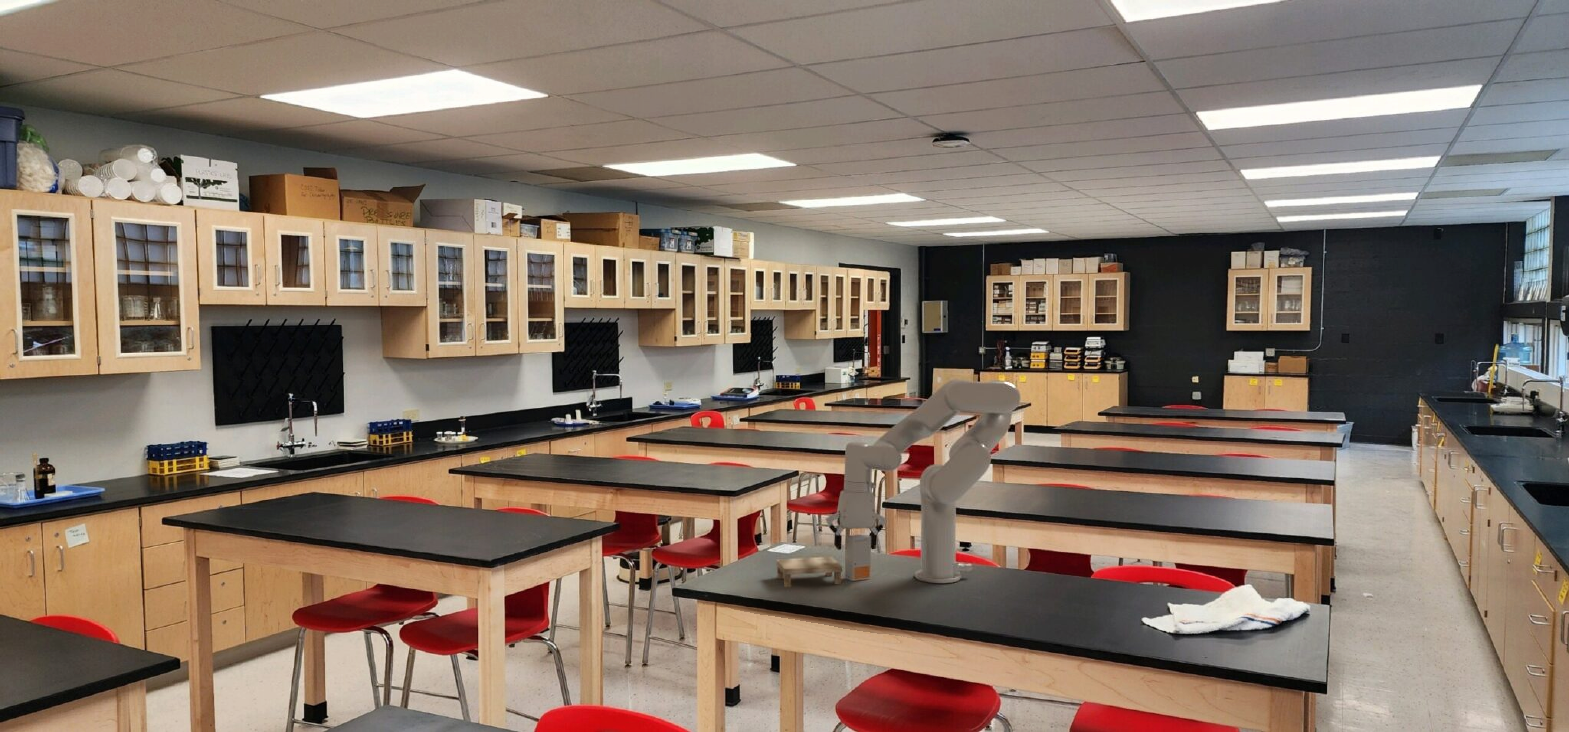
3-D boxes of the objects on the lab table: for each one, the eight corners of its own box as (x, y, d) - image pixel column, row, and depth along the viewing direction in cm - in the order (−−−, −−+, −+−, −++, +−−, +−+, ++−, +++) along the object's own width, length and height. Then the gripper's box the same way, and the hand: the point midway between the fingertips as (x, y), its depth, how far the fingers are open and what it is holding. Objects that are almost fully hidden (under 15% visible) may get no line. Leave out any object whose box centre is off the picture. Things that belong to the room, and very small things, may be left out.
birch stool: (831, 574, 267) (831, 556, 267) (842, 584, 256) (842, 566, 256) (776, 577, 264) (776, 559, 263) (784, 587, 253) (784, 569, 253)
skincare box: (852, 581, 259) (852, 538, 259) (844, 577, 263) (844, 535, 263) (871, 578, 262) (871, 536, 262) (863, 575, 266) (863, 533, 265)
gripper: (883, 484, 267) (880, 544, 268) (823, 484, 263) (821, 545, 264) (891, 489, 260) (889, 551, 260) (831, 489, 256) (828, 551, 257)
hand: (855, 548), depth 262 cm, fingers open, 9 cm apart
